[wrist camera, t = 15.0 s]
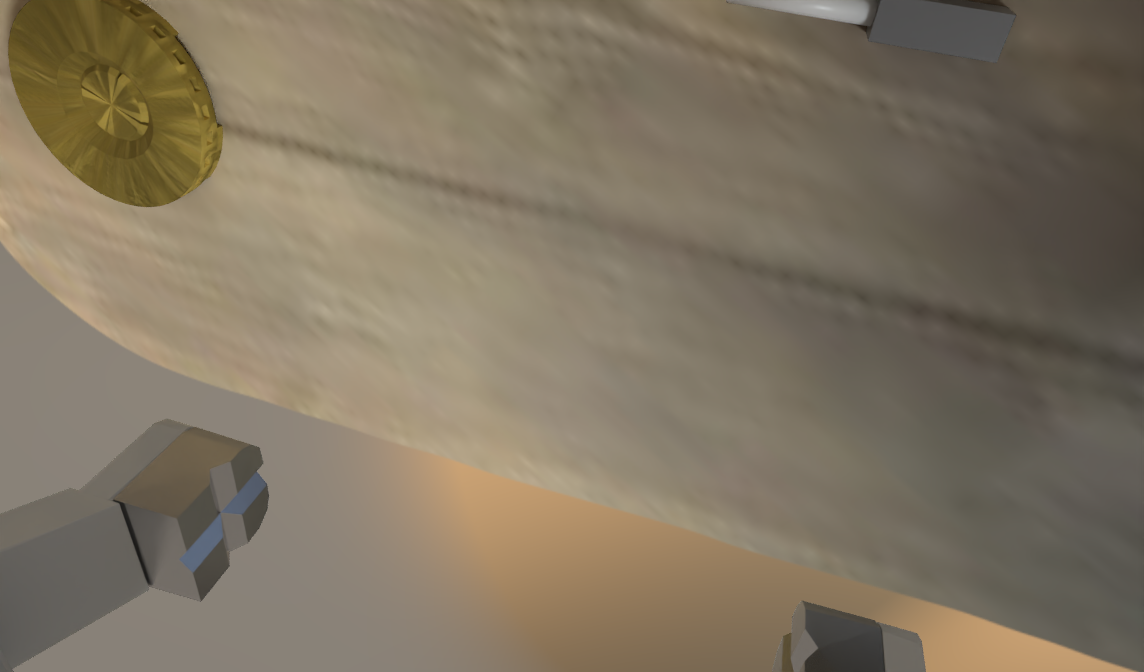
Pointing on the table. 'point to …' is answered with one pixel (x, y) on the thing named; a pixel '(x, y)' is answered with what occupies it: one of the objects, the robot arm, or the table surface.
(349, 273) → the table surface
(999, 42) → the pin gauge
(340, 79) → the table surface
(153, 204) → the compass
